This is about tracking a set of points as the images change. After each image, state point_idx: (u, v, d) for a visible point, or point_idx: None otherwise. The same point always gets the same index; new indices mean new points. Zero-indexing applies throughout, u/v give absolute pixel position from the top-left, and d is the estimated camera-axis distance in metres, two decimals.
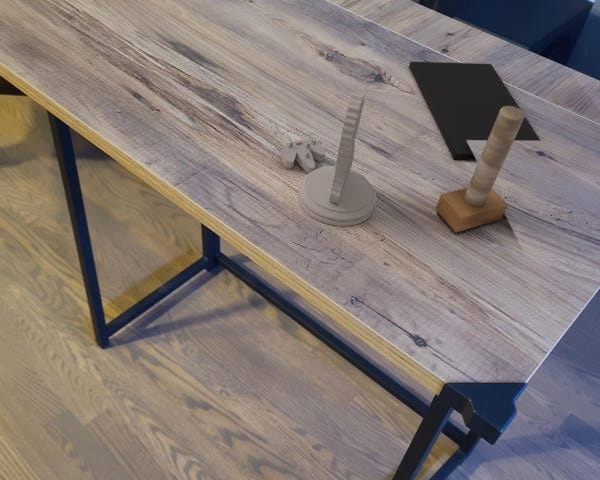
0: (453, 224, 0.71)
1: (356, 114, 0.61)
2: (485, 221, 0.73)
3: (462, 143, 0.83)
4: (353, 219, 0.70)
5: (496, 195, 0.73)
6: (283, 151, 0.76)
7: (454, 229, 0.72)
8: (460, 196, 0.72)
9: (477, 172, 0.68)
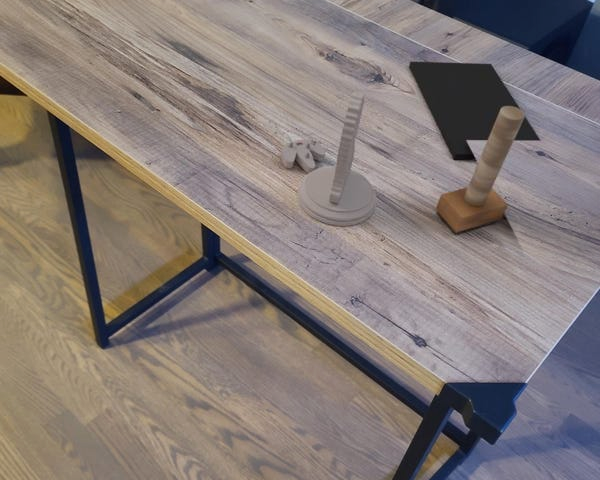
0: (453, 224, 0.71)
1: (356, 114, 0.61)
2: (485, 221, 0.73)
3: (462, 143, 0.83)
4: (353, 219, 0.70)
5: (496, 195, 0.73)
6: (283, 151, 0.76)
7: (454, 229, 0.72)
8: (460, 196, 0.72)
9: (477, 172, 0.68)
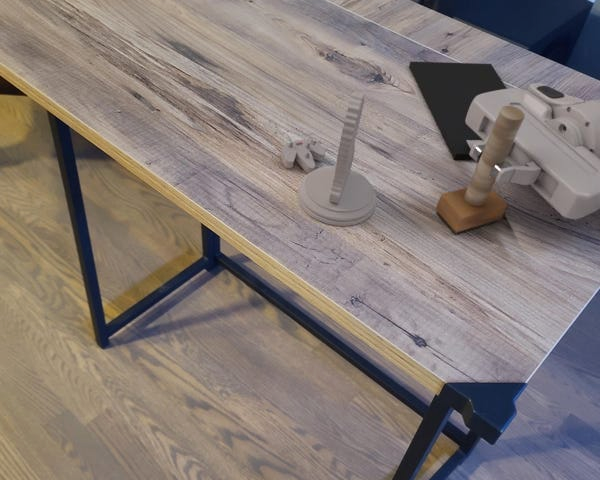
0: (453, 224, 0.71)
1: (356, 114, 0.61)
2: (485, 221, 0.73)
3: (462, 143, 0.83)
4: (353, 219, 0.70)
5: (496, 195, 0.73)
6: (283, 151, 0.76)
7: (454, 229, 0.72)
8: (460, 196, 0.72)
9: (477, 172, 0.68)
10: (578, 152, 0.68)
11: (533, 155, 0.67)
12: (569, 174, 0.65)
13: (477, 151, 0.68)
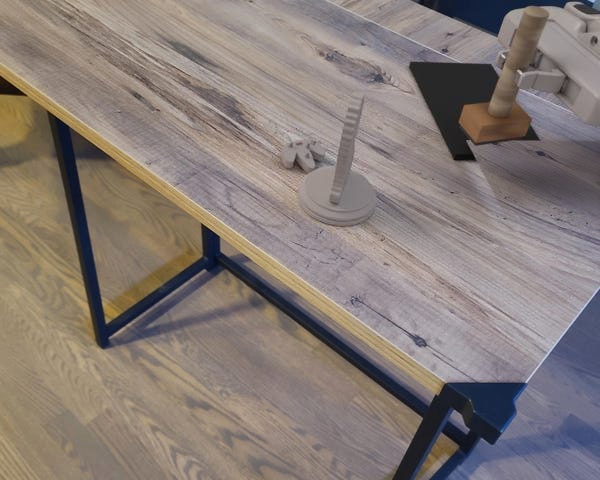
0: (473, 134, 0.71)
1: (356, 114, 0.61)
2: (508, 135, 0.72)
3: (462, 143, 0.83)
4: (353, 219, 0.70)
5: (521, 110, 0.72)
6: (283, 151, 0.76)
7: (474, 140, 0.72)
8: (484, 108, 0.72)
9: (500, 79, 0.68)
10: None
11: (559, 62, 0.66)
12: (592, 79, 0.64)
13: (502, 57, 0.68)
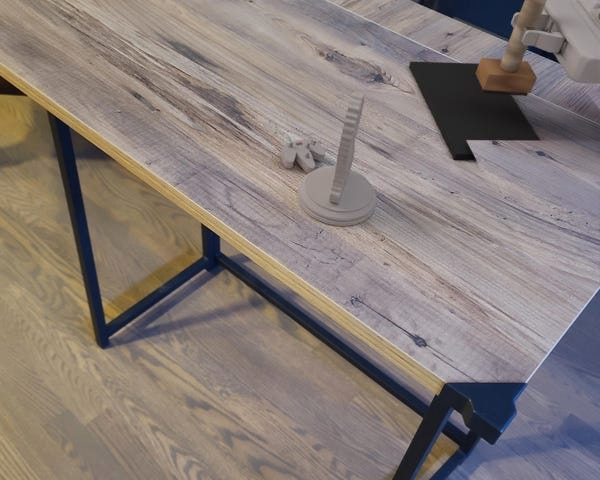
0: (482, 82, 0.84)
1: (356, 114, 0.61)
2: (514, 89, 0.84)
3: (462, 143, 0.83)
4: (353, 219, 0.70)
5: (530, 70, 0.84)
6: (283, 151, 0.76)
7: (483, 87, 0.84)
8: (497, 62, 0.84)
9: (511, 36, 0.80)
10: None
11: (561, 27, 0.77)
12: (584, 42, 0.75)
13: (516, 18, 0.80)
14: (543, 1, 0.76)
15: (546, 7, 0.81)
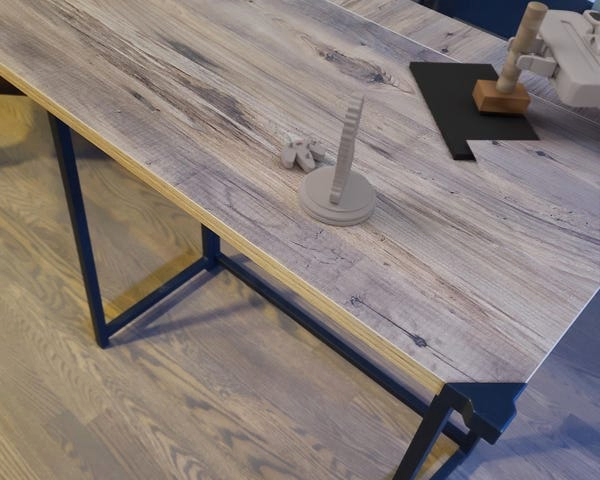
0: (478, 104, 0.87)
1: (356, 114, 0.61)
2: (509, 110, 0.87)
3: (462, 143, 0.83)
4: (353, 219, 0.70)
5: (525, 92, 0.87)
6: (283, 151, 0.76)
7: (479, 108, 0.87)
8: (493, 84, 0.87)
9: (506, 60, 0.83)
10: (597, 59, 0.80)
11: (554, 52, 0.81)
12: (575, 68, 0.78)
13: (511, 43, 0.83)
14: (537, 28, 0.79)
15: (540, 32, 0.84)
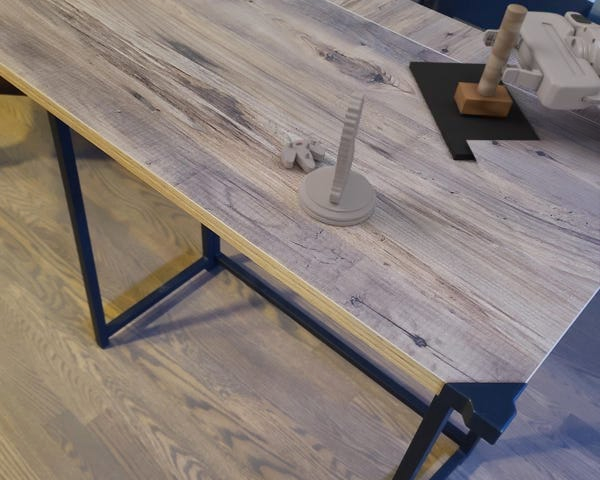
0: (460, 106, 0.87)
1: (356, 114, 0.61)
2: (490, 112, 0.87)
3: (462, 143, 0.83)
4: (353, 219, 0.70)
5: (506, 94, 0.87)
6: (283, 151, 0.76)
7: (460, 111, 0.87)
8: (475, 87, 0.87)
9: (487, 63, 0.83)
10: (577, 61, 0.80)
11: (535, 54, 0.80)
12: (555, 70, 0.77)
13: (486, 35, 0.84)
14: (516, 30, 0.78)
15: (521, 34, 0.84)
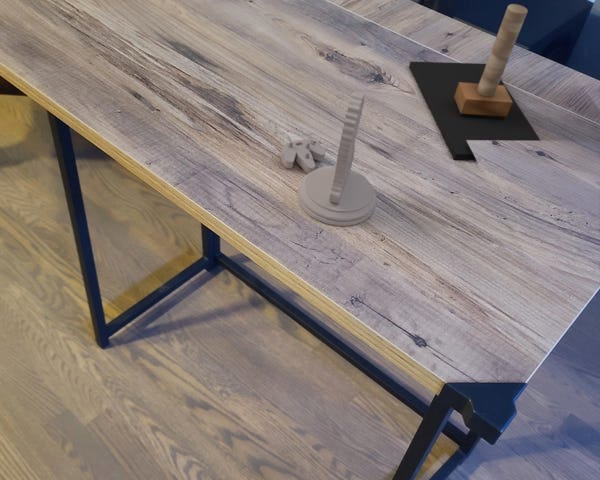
0: (460, 106, 0.87)
1: (356, 114, 0.61)
2: (490, 112, 0.87)
3: (462, 143, 0.83)
4: (353, 219, 0.70)
5: (506, 94, 0.87)
6: (283, 151, 0.76)
7: (460, 111, 0.87)
8: (475, 87, 0.87)
9: (487, 63, 0.83)
10: None
11: None
12: None
13: None
14: (516, 30, 0.78)
15: None
